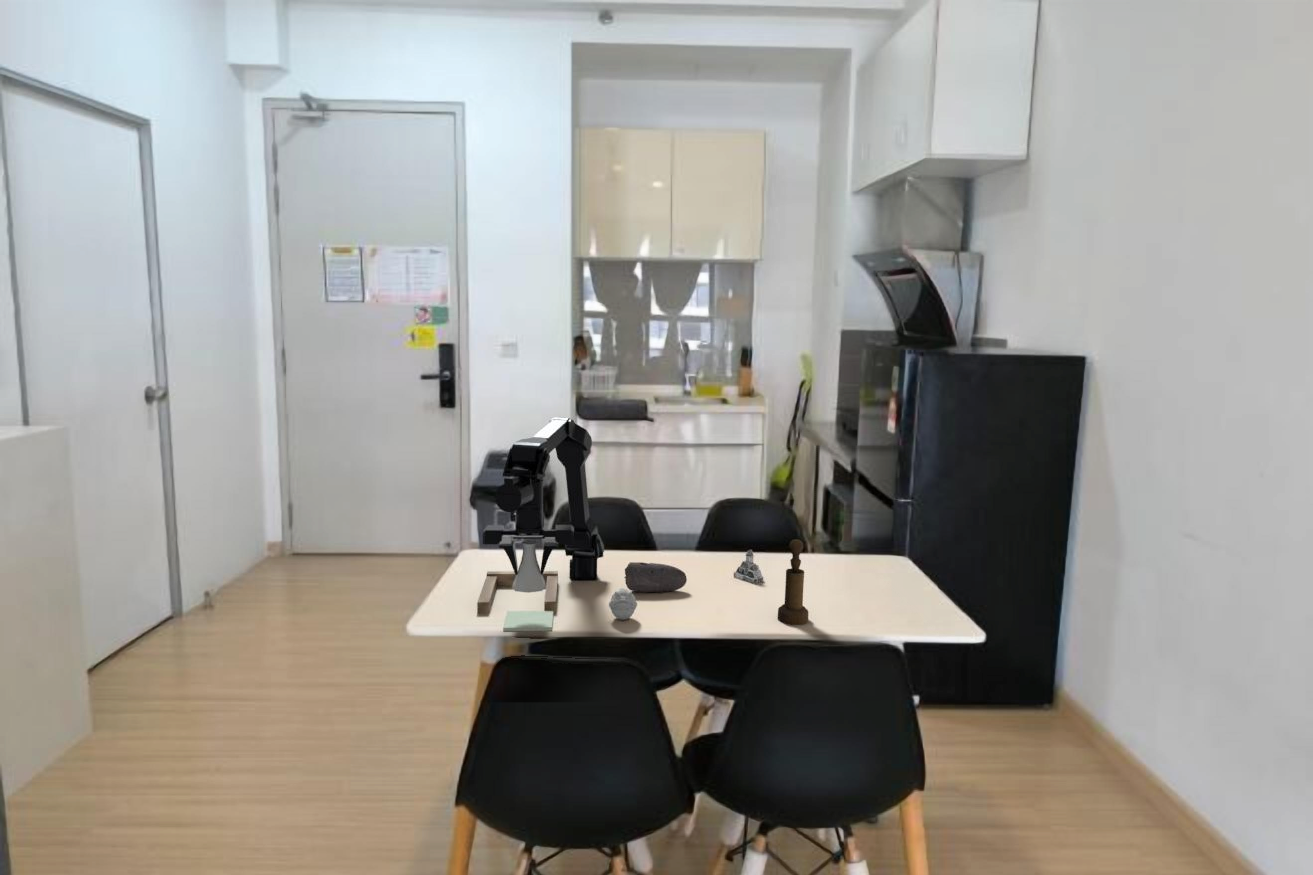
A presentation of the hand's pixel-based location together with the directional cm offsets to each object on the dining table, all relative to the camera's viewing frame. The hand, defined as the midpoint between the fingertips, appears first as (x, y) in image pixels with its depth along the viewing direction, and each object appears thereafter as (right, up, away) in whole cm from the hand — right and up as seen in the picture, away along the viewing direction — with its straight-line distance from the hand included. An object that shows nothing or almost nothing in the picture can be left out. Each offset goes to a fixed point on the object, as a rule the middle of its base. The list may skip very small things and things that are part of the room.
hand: (529, 573), depth 178 cm
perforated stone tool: (+27, -8, +24) cm, 37 cm away
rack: (-5, -8, +17) cm, 20 cm away
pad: (0, -11, +1) cm, 11 cm away
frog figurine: (+20, -11, +5) cm, 23 cm away
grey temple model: (+53, -7, +37) cm, 65 cm away
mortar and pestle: (+57, -11, +7) cm, 58 cm away
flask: (0, -3, +1) cm, 3 cm away
